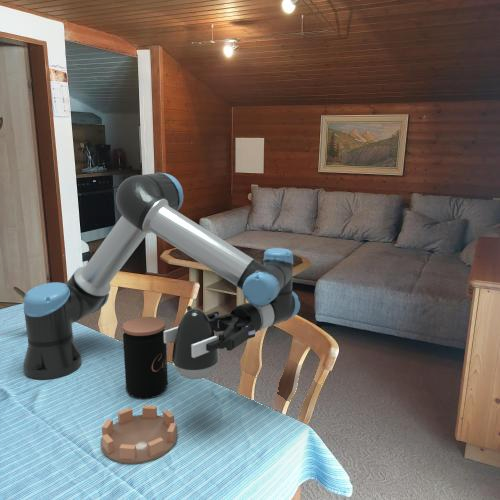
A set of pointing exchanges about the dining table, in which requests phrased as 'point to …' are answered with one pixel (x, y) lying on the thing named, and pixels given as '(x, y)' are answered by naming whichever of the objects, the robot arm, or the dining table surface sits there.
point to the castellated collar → (139, 436)
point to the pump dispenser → (190, 332)
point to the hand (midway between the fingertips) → (178, 344)
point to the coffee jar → (145, 357)
